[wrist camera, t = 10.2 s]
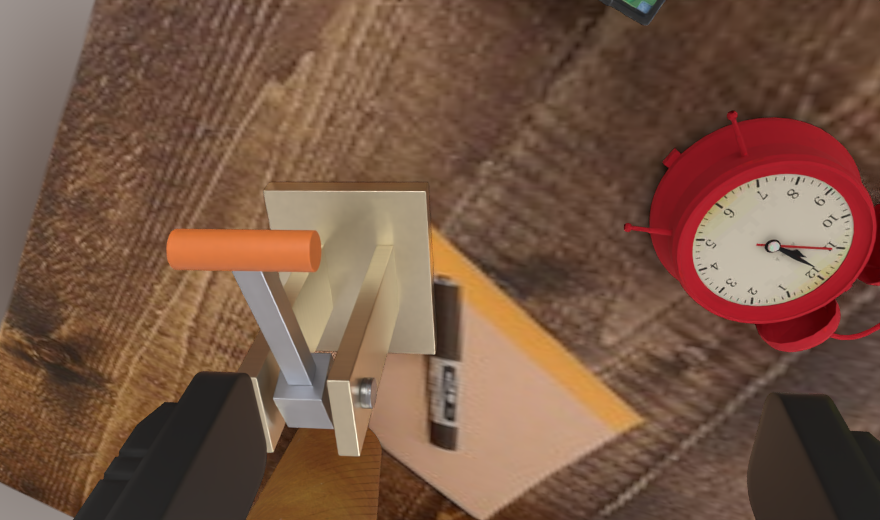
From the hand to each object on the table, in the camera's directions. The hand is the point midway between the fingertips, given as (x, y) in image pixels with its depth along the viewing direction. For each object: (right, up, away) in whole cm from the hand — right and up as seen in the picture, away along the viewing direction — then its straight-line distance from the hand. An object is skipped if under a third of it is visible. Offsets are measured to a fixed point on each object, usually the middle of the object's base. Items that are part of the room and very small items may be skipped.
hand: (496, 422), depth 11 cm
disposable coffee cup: (-8, -11, +38) cm, 40 cm away
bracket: (-6, +2, +30) cm, 31 cm away
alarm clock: (+17, +5, +26) cm, 31 cm away
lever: (-7, 0, +18) cm, 19 cm away
